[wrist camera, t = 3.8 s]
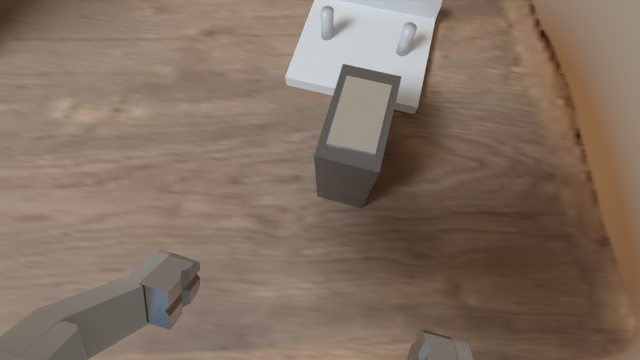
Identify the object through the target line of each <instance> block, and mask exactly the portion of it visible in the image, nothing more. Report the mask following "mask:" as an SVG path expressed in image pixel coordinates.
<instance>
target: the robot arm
mask: <svg viewBox="0 0 640 360" xmlns="http://www.w3.org/2000/svg"><path fill="white" fill-rule="evenodd" d="M199 270H200V263H199V262H198V261H195V260H192V259H189V258H186V257H183V256H180V255H177V254H174V253H170V252H167V251H164V250H159V251H156V252H155V253H154V254H153V255H152V256H151V257H149V258H148V259H147V260H146V261H145V262H144V263H143V264H142V265H141V266H140V267H138V268H137V269H136V270H135V271H134V272H133V273H132V274H131V275H130V276H128V277H127V278H126V279H125V280H124V279H119V280H116V281H113V282H111V283H108V284H105V285H102V286H100V287H97V288H94V289H91V290H89V291H86V292H83V293H80V294H78V295H75V296H72V297H69V298H67V299H64V300H61V301H58V302H56V303H53V304H50V305H47V306H45V307H42V308H39V309H36V310H35V311H34V312H32V313H31V314H30V315H28V316H27V317H26V318H24V319H23V320H22V321H21V322H19V323H18V324H17V325H15V326H14V327H13V328H11V329H10V330H9V331H7V332H6V333H5V334H3V335H2V336H1V337H0V360H88V359H90V358H91V357H93V356H95V355H96V354H98V353H100V352H101V351H103V350H105V349H107V348H108V347H110V346H112V345H113V344H115V343H117V342H118V341H120V340H122V339H124V338H125V337H127V336H129V335H130V334H132V333H134V332H135V331H137V330H139V329H141V328H142V327H144V326H146V325H147V323H149V324H153V325H156V326H159V327H163V328H166V329H169V330H171V328H172V327H173V326H174V324H175V323H176V322H177V320H178V319H179V318H180V316H181V315H182V307H184V306H186V305H189V304H190V303H191V302H192V300H193V299H194V298H195V296H196V294H197V291H198V289H199V285H200V278H199V276H198V275H197V272H198V271H199ZM408 360H473V357H472V353H471V350H470V346H469V345H468V343H466V342H463V341H460V340H456V339H453V338H450V337H447V336H444V335H440V334H437V333H433V332H430V331H426V330H423V329H421V330H420V331H419V332H418V334H417V342H416V343H414V344H412V346H411V348H410V350H409V355H408Z"/></svg>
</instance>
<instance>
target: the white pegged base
mask: <svg viewBox="0 0 640 360" xmlns="http://www.w3.org/2000/svg"><path fill="white" fill-rule="evenodd" d="M441 4H442V0H314V3H313V5H312V8H311V11H310V13H309V16H308V18H307V21H306V24H305V26H304V29H303V32H302V34H301V37H300V40H299V42H298V45H297V48H296V50H295V53H294V55H293V58H292V61H291V63H290V66H289V69H288V71H287V74H286V77H285V79H286V84H287V85H289V86H293V87H297V88H302V89H306V90H310V91H315V92H319V93H323V94H328V95H332V96H333V94H334V91H335V88H336V84H337V81H338V78H339V75H340V71H341V68H342V65H343V64H346V65H351V66H356V67H360V68H365V69H369V70H374V71H378V72H383V73H388V74H392V75H397V76H401V82H400V86H399V90H398V95H397V99H396V103H395V108H394V110H397V111H402V112H406V113H410V114H415V112H416V110H417V108H418V104H419V99H420V94H421V89H422V84H423V79H424V74H425V69H426V64H427V59H428V54H429V49H430V44H431V40H432V35H433V30H434V25H435V20H436V17H437V15H438V12H439V10H440V8H441Z"/></svg>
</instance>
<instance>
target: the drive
mask: <svg viewBox="0 0 640 360" xmlns="http://www.w3.org/2000/svg"><path fill="white" fill-rule="evenodd" d="M400 82H401V76H397V75H392V74H388V73H383V72H378V71H374V70H369V69H365V68H360V67H356V66H351V65H346V64H343V65H342V68H341V71H340V75H339V78H338V81H337V84H336V88H335V91H334V94H333V97H332V100H331V104H330V107H329V110H328V113H327V117H326V120H325V123H324V126H323V129H322V133H321V136H320V139H319V142H318V145H317V149H316V152H315V155H314V159H315V171H316V183H317V196H318V197H322V198H325V199H329V200H333V201H337V202H340V203H344V204H348V205H352V206H355V207H359V208H362V206H363V204H364V202H365V200H366V198H367V196H368V194H369V192H370V191H371V189H372V187H373V185H374V183H375V181H376V179H377V177H378V175H379V173H380V169H381V164H382V160H383V156H384V151H385V147H386V142H387V138H388V134H389V129H390V125H391V121H392V116H393V112H394V108H395V103H396V99H397V95H398V90H399V86H400Z"/></svg>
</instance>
